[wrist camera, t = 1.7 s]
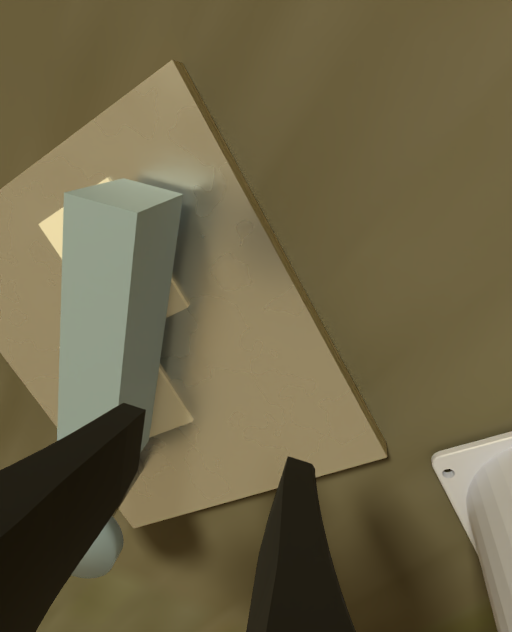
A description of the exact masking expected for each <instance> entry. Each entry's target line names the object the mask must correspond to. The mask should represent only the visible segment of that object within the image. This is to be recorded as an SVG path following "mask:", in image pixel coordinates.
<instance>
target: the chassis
mask: <svg viewBox="0 0 512 632" xmlns="http://www.w3.org/2000/svg"><path fill="white" fill-rule="evenodd" d="M107 177H110V178H111V180H112V181H114V180H118V179H123V178H125V179H129V180H132V181H136V182H140V183H144V184H147V185H151V186H155V187H159V188H162V189H166V190H170V191H174V192H177V193H181V194H183V200H182V207H181V215H180V222H179V229H178V236H177V243H176V250H175V257H174V265H173V272H172V279H173V280H174V282H175V284H176V285H177V287H178V288H179V290H180V292H181V293H182V295H183V297H184V298H185V300H186V302H187V303H188V305H189V307H188V308H186V309H184V310H182V311H180V312H177V313H175V314H173V315H171V316H169V317H167V318H166V322H165V329H164V336H163V343H162V350H161V357H160V364H159V367H160V369H161V370H162V372H163V373H164V375H165V376H166V378H167V379H168V381H169V382H170V384H171V385H172V387H173V388H174V390H175V391H176V393H177V395H178V396H179V398H180V399H181V401H182V402H183V404H184V405H185V407H186V408H187V410H188V411H189V413H190V414H191V416H192V417H193V419H194V420H193V421H192V422H190V423H187V424H185V425H182V426H179V427H177V428H174V429H171V430H169V431H166V432H163V433H160V434H158V435H155V436H152V437H150V438H149V441H148V443H147V444H146V445H145V447H144V448H143V450H142V451H141V453H140V459H139V466H138V471H137V473H136V475H135V477H134V479H133V480H132V482H131V484H130V486H129V488H128V490H127V492H126V494H125V495H124V497H123V499H122V501H121V503H120V505H119V506H118V508H117V509H116V511H115V512H114V514H113V515H112V516H114V515H115V513H116V512H117V510H118V509H119V510H120V511H121V513H122V514H123V515H124V517H125V518H126V519H127V520H128V522H129V523H130V524H131V526H132V527H133V528H137V527H141V526H144V525H148V524H151V523H155V522H158V521H162V520H166V519H169V518H173V517H176V516H180V515H183V514H187V513H191V512H194V511H198V510H201V509H205V508H208V507H212V506H216V505H219V504H223V503H226V502H230V501H233V500H237V499H241V498H244V497H248V496H251V495H255V494H258V493H262V492H266V491H269V490H273V489H276V488H278V485H279V482H280V479H281V476H282V473H283V470H284V466H285V463H286V460H287V457H288V456H289V457H293V458H296V459H299V460H302V461H305V462H308V463H311V464H313V466H314V468H315V476H316V477H319V476H323V475H326V474H330V473H333V472H337V471H340V470H344V469H348V468H351V467H355V466H358V465H362V464H365V463H369V462H373V461H376V460H380V459H383V458H387V443H386V441H385V439H384V437H383V436H382V434H381V432H380V430H379V428H378V426H377V424H376V423H375V421H374V419H373V417H372V415H371V413H370V411H369V409H368V408H367V406H366V404H365V402H364V400H363V398H362V396H361V395H360V393H359V391H358V389H357V387H356V385H355V383H354V381H353V380H352V378H351V376H350V374H349V372H348V370H347V368H346V367H345V365H344V363H343V361H342V359H341V357H340V355H339V354H338V352H337V350H336V348H335V346H334V344H333V342H332V340H331V339H330V337H329V335H328V333H327V331H326V329H325V327H324V326H323V324H322V322H321V320H320V318H319V316H318V314H317V313H316V311H315V309H314V307H313V305H312V303H311V301H310V299H309V298H308V296H307V294H306V292H305V290H304V288H303V286H302V285H301V283H300V281H299V279H298V277H297V275H296V273H295V272H294V270H293V268H292V266H291V264H290V262H289V260H288V258H287V257H286V255H285V253H284V251H283V249H282V247H281V245H280V244H279V242H278V240H277V238H276V236H275V234H274V232H273V231H272V229H271V227H270V225H269V223H268V221H267V219H266V217H265V216H264V214H263V212H262V210H261V208H260V206H259V204H258V203H257V201H256V199H255V197H254V195H253V193H252V191H251V190H250V188H249V186H248V184H247V182H246V180H245V178H244V176H243V175H242V173H241V171H240V169H239V167H238V165H237V163H236V162H235V160H234V158H233V156H232V154H231V152H230V150H229V149H228V147H227V145H226V143H225V141H224V139H223V137H222V135H221V134H220V132H219V130H218V128H217V126H216V124H215V122H214V121H213V119H212V117H211V115H210V113H209V111H208V109H207V108H206V106H205V104H204V102H203V100H202V98H201V96H200V94H199V93H198V91H197V89H196V87H195V85H194V83H193V81H192V80H191V78H190V76H189V74H188V72H187V70H186V68H185V67H184V65H183V63H181V62H178V61H174V60H171V61H170V62H169V63H167V64H166V65H165V66H163V67H162V68H161V69H159V70H158V71H157V72H155V73H154V74H153V75H151V76H150V77H149V78H147V79H146V80H145V81H143V82H142V83H141V84H139V85H138V86H137V87H135V88H134V89H133V90H132V91H130V92H129V93H128V94H126V95H125V96H124V97H122V98H121V99H120V100H118V101H117V102H116V103H114V104H113V105H112V106H110V107H109V108H108V109H106V110H105V111H104V112H102V113H101V114H100V115H98V116H97V117H96V118H94V119H93V120H92V121H90V122H89V123H88V124H86V125H85V126H84V127H82V128H81V129H80V130H78V131H77V132H76V133H74V134H73V135H72V136H71V137H69V138H68V139H67V140H65V141H64V142H63V143H61V144H60V145H59V146H57V147H56V148H55V149H53V150H52V151H51V152H49V153H48V154H47V155H45V156H44V157H43V158H41V159H40V160H39V161H37V162H36V163H35V164H33V165H32V166H31V167H29V168H28V169H27V170H25V171H24V172H23V173H21V174H20V175H19V176H17V177H16V178H15V179H13V180H12V181H11V182H10V183H8V184H7V185H6V186H4V187H3V188H2V189H0V353H1V354H2V355H3V357H4V358H5V359H6V361H7V362H8V363H9V364H10V366H11V367H12V368H13V370H14V371H15V372H16V374H17V375H18V376H19V378H20V379H21V380H22V382H23V383H24V384H25V386H26V387H27V388H28V390H29V391H30V392H31V394H32V395H33V396H34V398H35V399H36V400H37V402H38V403H39V404H40V405H41V407H42V408H43V409H44V411H45V412H46V413H47V415H48V416H49V417H50V419H51V420H52V421H53V423H54V424H55V425H56V427H57V428H58V391H59V355H60V348H59V347H60V319H61V282H62V259H61V257H60V256H59V254H58V253H57V251H56V250H55V248H54V247H53V245H52V244H51V242H50V241H49V239H48V238H47V236H46V235H45V233H44V232H43V231H42V229H41V228H40V226H39V225H38V224H39V223H41V222H42V221H44V220H45V219H47V218H48V217H50V216H51V215H53V214H54V213H55V212H57V211H58V210H60V209H61V208H63V207H64V193H65V192H69V191H73V190H77V189H81V188H85V187H89V186H94V185H97V184H98V183H100V182H101V181H103V180H104V179H106V178H107Z"/></svg>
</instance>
